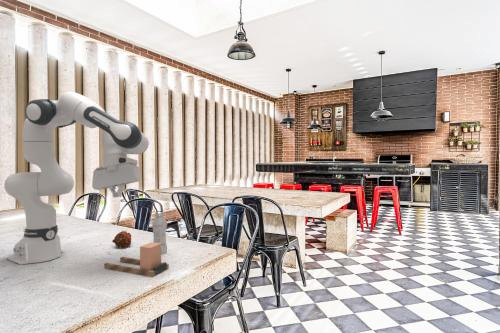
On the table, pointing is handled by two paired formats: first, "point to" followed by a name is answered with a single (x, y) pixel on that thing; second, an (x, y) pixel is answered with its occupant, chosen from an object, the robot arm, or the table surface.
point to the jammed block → (150, 256)
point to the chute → (137, 271)
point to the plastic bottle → (160, 230)
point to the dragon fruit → (122, 239)
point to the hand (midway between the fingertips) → (117, 196)
